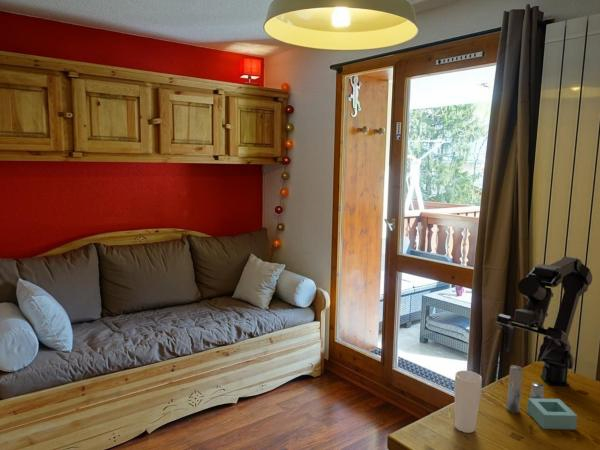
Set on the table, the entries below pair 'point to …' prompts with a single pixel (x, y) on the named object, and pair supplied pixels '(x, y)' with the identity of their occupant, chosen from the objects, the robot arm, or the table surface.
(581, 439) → the table surface
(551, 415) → the hole block
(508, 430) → the table surface
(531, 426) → the table surface
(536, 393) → the short pin
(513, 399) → the tall pin
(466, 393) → the drinking glass
